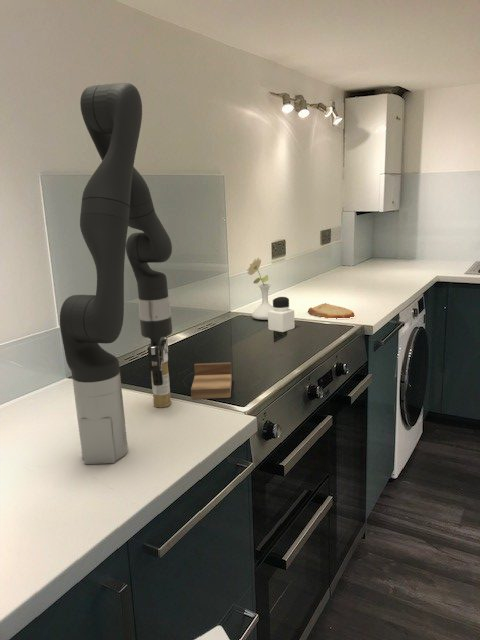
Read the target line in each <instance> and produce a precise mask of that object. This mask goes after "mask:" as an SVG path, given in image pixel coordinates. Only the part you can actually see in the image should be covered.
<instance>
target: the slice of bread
mask: <svg viewBox="0 0 480 640" xmlns="http://www.w3.org/2000/svg"><path fill="white" fill-rule="evenodd" d="M307 313H308V314H309V315H310V316H313V317H317V318H321V317H325V318H324V319H328V318H336V319H335V320H338V319H337V318H350V317H354V316H355V317H356V315H355V313H354V311H353V310H351V309H349V308H346V307H341V306H339V305H334V304H330V303H326V302H325V303H321V304H319V305H317V306H314V307H309V308H308V310H307Z"/></svg>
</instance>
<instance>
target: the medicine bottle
mask: <svg viewBox="0 0 480 640" xmlns="http://www.w3.org/2000/svg"><path fill="white" fill-rule="evenodd" d="M272 306H273V309H274V310H271V311H268V320H267V322H268V323H267V324H268V325H267V326H268V330H269V331H274V332H280V333H284V332H288V331H291V330H293V329H295V324H296V323H295V309H290V299H289V297H286V296H276V297H273V298H272Z"/></svg>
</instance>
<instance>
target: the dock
mask: <svg viewBox="0 0 480 640" xmlns="http://www.w3.org/2000/svg"><path fill="white" fill-rule="evenodd" d="M193 366H194V376H193V377H194V378H193V381H192V385H191V388H190V396H191V400H198V399H199V400H201V399H202V400H203V399H204V400H205V399H224V398H225V399H226V398H227V399H228V398H231V396H232V387H233V386H232V384H233V383H232V382H233V378H232V377H233V376H232V375H233V374H232V362H229V361H228V362H208V363H207V362H205V363H194V365H193Z"/></svg>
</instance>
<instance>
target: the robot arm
mask: <svg viewBox="0 0 480 640" xmlns="http://www.w3.org/2000/svg"><path fill="white" fill-rule="evenodd" d="M79 105H80V112H81V117H82V119H83V122H84V125H85V127H86V129H87V132H88V133H89V136H90V138H91V140H92V143H93V144H94V147H95V150H96V151H97V153H98V155H99V157H100V159H101V162H100V163H99V165H98V166H97V168H96V169H95V171H94V172H93V174H92V175H91V176H90V178H89V180H88V182H87V184H86V185H85V187H84V190H83V191H82V192H83V193H82V197H81V206H80V213H79V214H80V216H79V227H80V232H81V234H82V238H83V240H84V242H85V245H86V246H87V249H88V251H89V252H90V255H91V257H92V259H93V262H94V264H95V269H96V288H95V289H96V292H95V294H73V295H70V296H68V297H67V298H65V300H64V301H63V303H62V305H61V307H60V311H59V328H60V334H61V339H62V340H61V341H62V345H63V351H64V356H65V361H66V364H67V366H68V368H69V371H70V372H71V377H72V384H73V385H72V386H73V394H74V401H75V409H76V418H77V425H78V432H79V433H78V434H79V440H80V441H79V442H80V450H81V457H82V459H83V464H84V465H98V464H116V462H117V461H118V460H120V459H122V458H123V457H124V456H126V454H127V453H128V451H129V447H128V438H127V437H128V436H127V427H126V419H125V418H126V417H125V410H124V409H125V406H124V398H123V397H124V396H123V390H122V381H121V380H122V377H121V369H120V361H119V359H118V358H117V357H116V356H115V355H114V354H112V353H110V352H109V351H106V349H104V348H103V347H102V346H100V344H112V343H114V342H115V341H116V340H117V339H118V338H119V336H120V334H121V332H122V328H123V323H124V317H125V310H124V309H125V307H124V306H125V262H126V261H125V259H126V256H127V260H128V261H129V263H130V267H131V268H132V272H133V275H134V277H135V281H136V285H137V293H138V314H139V315H138V316H139V324H140V325H139V326H140V334H141V336H142V337H143V338H146V339H149V340H150V343H148V346H147V349H146V350H147V355H148V356H147V357H148V367H149V368H148V370H149V372H151V371H152V374H153V384H154V385H155V386H161V385H162V384H163V377H162V362H164V352H166V353H167V354H169V352H170V350H169V342H168V337H169V336H170V335H171V334H172V333H173V323H172V311H171V303H170V299H169V290H168V289H169V288H168V278H167V276H166V274H165V273H163V272H161V271H157V270H154V269H152V268H151V267H150V265H149V263H150V264H151V263H155V264H157V263H165V262H167V261H168V260H169V259H170V257H171V256H172V252H173V246H172V245H173V244H172V241H171V238H170V235H169V234H168V232H167V230H166V228H165V227H164V226H163V224H162V222H161V221H160V218H159V216H158V215H157V213H156V210H155V207H154V203H153V198H152V195H151V192H150V191H151V190H150V189H149V186H148V184H147V182H146V180H145V179H144V178H143V176H142V174H141V173H140V172H139V171H138V169H136V167H135V166H134V164H135V159H136V153H137V148H138V144H139V138H140V132H141V127H142V120H143V103H142V97H141V93H140V92H139V90H138V88H137V87H136V86H135V85H133V84H132V83H130V82H117V83H115V82H114V83H106V84H98V85H97V84H95V85H91V86H87V87H86V88H85V89H84V90H83V91H82V93H81V95H80V104H79ZM128 227H129V228H130V229H134V230H137V231H141V232H133V233H131V234H130V235H129V236H127V235H128ZM155 362H157V366H154V363H155Z"/></svg>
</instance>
